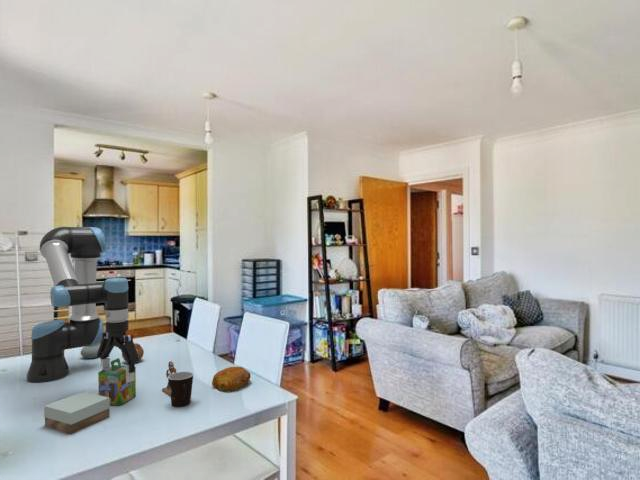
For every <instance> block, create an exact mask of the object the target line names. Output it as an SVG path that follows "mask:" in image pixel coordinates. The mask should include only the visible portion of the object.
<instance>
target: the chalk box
mask: <svg viewBox="0 0 640 480" xmlns="http://www.w3.org/2000/svg"><path fill="white" fill-rule="evenodd" d="M115 363H116V365H115ZM136 368H137V367H136V366H135V371H134V381H131V382H128V383H126V364H125V365H122V363H121V358H120V357H119V358H116V359H113V360H112V361H110V367H109V368H107V369H104V370H102V369H101V370H100V371H98V373H97V374H98V377H97V378H98V395H100V396H105V397H109V398H110V405H112V406H122V405H123V404H125V403H127V402H128V401H130V400H131V399H134V398H135V397H136V396H137V395H136V393H137V392H136V389H137V388H136V387H137V386H136V381H137V378H136V376H137V374H136V372H137V371H136Z"/></svg>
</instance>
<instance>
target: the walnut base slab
mask: <svg viewBox="0 0 640 480" xmlns="http://www.w3.org/2000/svg"><path fill="white" fill-rule="evenodd" d="M108 418H110V408H109V409H107V410H104V411H102V412H100V413H97V414H95V415H93V416H90V417H88V418H86V419H83V420H81V421H79V422H76V423H74V424H72V425H70V424H67V423H63V422H60V421H56V420H53V419H49V418H46V417H44V426H45V427H47V428H51V429H54V430H56V431H59V432H62V433H65V434H67V435H72V434H74V433H76V432H77V433H78V432H79V431H81V430H83V429H84V430H85V428H88V427H90V426H92V425H95V424H97V423H99V422H102V421H104V420H107V419H108Z"/></svg>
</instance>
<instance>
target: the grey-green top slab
mask: <svg viewBox="0 0 640 480" xmlns="http://www.w3.org/2000/svg"><path fill="white" fill-rule="evenodd" d="M107 409H109V410H110V398H109V397H105V396H100V395H99V394H96V393H91V392H86V391H82V392H79V393H76V394H72V395H71V396H68V397H65V398H63V399H59V400H57V401H54V402H51V403H48V404H45V405H44V408H43V411H44V413H43V414H44V415H43V416H44V417H43V418H45V417H46V418H49V419H53V420H56V421H60V422H63V423H67V424H70V425H72V424H74V423H76V422H79V421H81V420H83V419H86V418H88V417H90V416H93V415H95V414H97V413H100V412H102V411H104V410H107Z"/></svg>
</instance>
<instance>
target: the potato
mask: <svg viewBox="0 0 640 480" xmlns="http://www.w3.org/2000/svg"><path fill="white" fill-rule="evenodd" d="M251 377H252V376H251V372H249V371H248V370H247V369H246V368H245V367H243V366H230V367H225V368H224V369H222V370H219V371H218V372H216V373H215V374H214V375H213V377H212V382H211V385H212V387H213V389H215V390H219V391H221V392H222V391H224V392H227V393H228V392H229V391H230V392H233V391H235V390H236V391H237V390H238V389H240V388H242V387H243V386H245V385H247V384H248V383H249V381H250V379H251ZM230 392H229V393H230Z"/></svg>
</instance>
